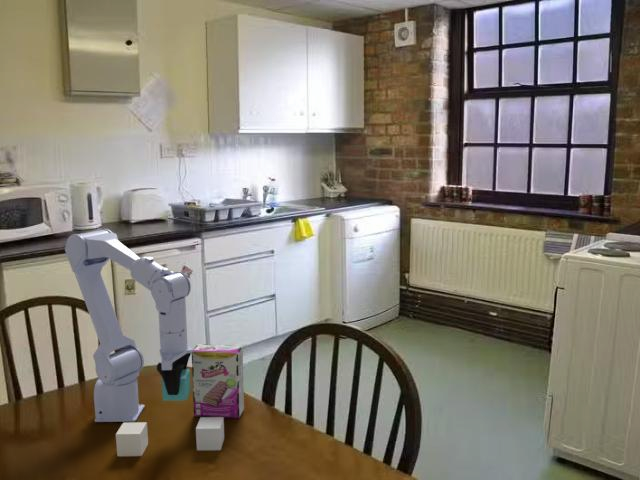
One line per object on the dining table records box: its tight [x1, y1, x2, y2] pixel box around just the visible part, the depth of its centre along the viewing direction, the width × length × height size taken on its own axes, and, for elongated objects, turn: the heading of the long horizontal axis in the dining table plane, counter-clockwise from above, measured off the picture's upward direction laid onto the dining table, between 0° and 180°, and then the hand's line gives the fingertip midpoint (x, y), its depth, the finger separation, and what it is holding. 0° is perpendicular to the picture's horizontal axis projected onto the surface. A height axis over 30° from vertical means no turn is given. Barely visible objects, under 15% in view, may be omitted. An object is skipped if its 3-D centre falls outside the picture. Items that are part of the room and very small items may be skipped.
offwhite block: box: [115, 421, 149, 457], centre depth 126 cm, size 5×5×5 cm
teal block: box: [161, 368, 192, 402], centre depth 131 cm, size 5×5×5 cm
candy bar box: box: [191, 343, 245, 419], centre depth 141 cm, size 11×5×16 cm, turn 84°
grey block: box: [195, 417, 225, 451], centre depth 128 cm, size 5×5×5 cm
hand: (176, 388), depth 131 cm, fingers closed on teal block, 5 cm apart
